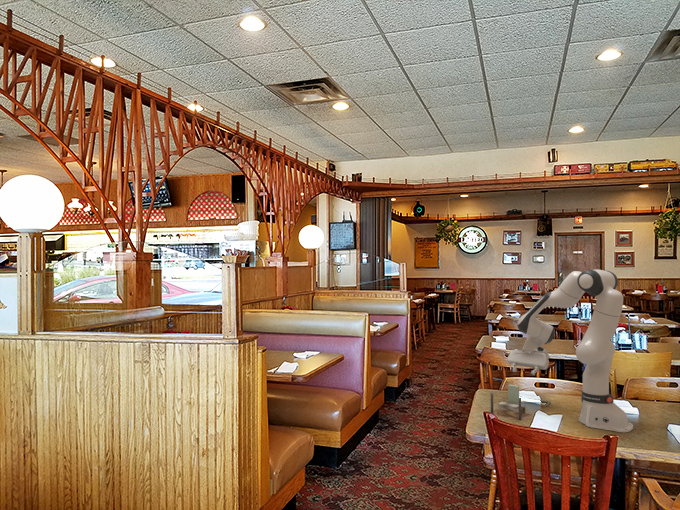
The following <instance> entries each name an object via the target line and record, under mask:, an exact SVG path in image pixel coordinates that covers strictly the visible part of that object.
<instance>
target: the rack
mask: <svg viewBox="0 0 680 510" xmlns="http://www.w3.org/2000/svg"><path fill="white" fill-rule="evenodd" d="M490 413H492V414H491V415H496V416H498V417H500V416H501V417H504V418H509V419H513V420H518V421H523V420H525V419H527V418H528V417H530V416H532V413H529V412H528V413H527V412H526V406H523V405H522V402H521V398H519V417H518V418H514V417H509V416H505V415H500V414H497V409H495V410H494V392H490Z"/></svg>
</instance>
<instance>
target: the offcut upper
mask: <svg viewBox="0 0 680 510" xmlns="http://www.w3.org/2000/svg"><path fill="white" fill-rule="evenodd" d="M497 408H498V409H502V410H507V411H511V412H518V411H519V405H515V404H510V403H508V402H505V401H501V402H498V403H497Z"/></svg>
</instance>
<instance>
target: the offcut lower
mask: <svg viewBox="0 0 680 510" xmlns="http://www.w3.org/2000/svg"><path fill="white" fill-rule="evenodd" d="M496 410H497V414H500V415H505V416H509V417H514V418H518V417H519V411H518V412H511V411H507V410H502V409H498V407H497V408H496Z"/></svg>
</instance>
